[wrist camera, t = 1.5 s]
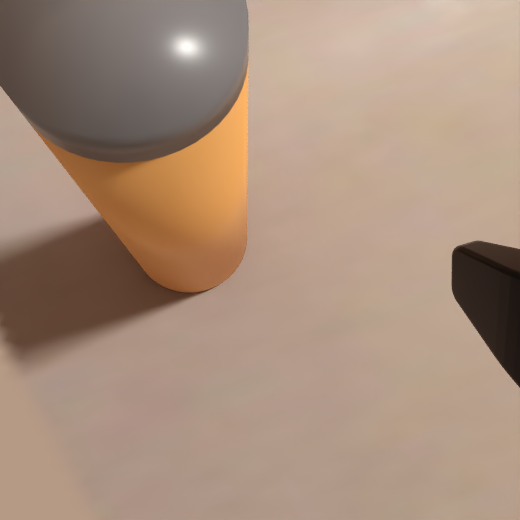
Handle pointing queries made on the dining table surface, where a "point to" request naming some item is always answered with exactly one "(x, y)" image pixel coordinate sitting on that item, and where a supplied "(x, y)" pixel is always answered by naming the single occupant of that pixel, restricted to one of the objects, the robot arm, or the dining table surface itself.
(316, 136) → the dining table surface
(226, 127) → the lidded container
